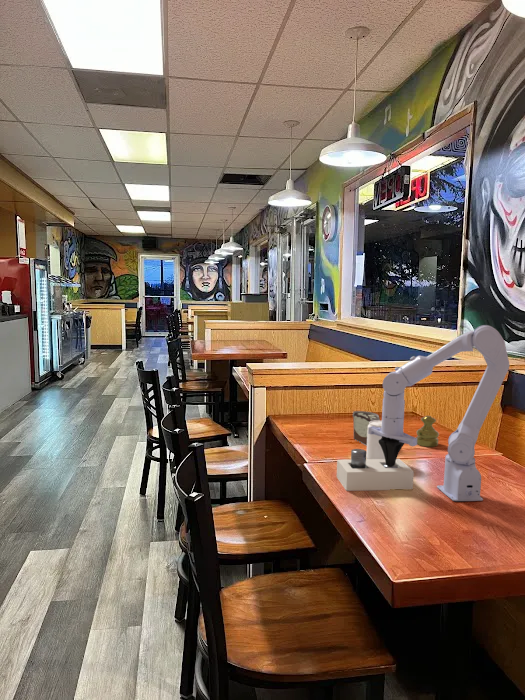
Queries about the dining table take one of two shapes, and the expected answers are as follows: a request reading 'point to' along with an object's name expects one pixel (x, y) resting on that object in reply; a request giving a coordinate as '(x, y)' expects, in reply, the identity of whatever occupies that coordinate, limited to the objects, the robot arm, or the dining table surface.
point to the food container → (362, 424)
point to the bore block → (374, 476)
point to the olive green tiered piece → (427, 433)
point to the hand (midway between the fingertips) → (390, 465)
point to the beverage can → (374, 442)
